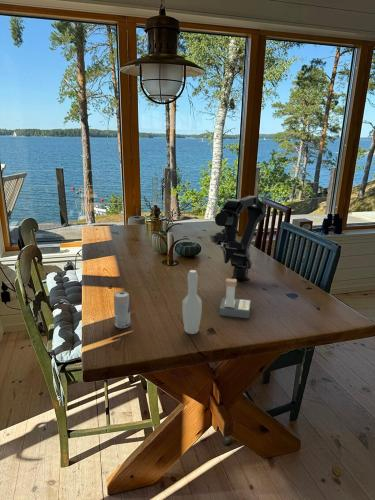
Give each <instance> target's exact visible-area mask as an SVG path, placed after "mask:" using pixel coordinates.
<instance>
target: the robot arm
mask: <svg viewBox="0 0 375 500" xmlns="http://www.w3.org/2000/svg"><path fill="white" fill-rule="evenodd" d="M245 209H246V211H247V213H246V216H247V219H248V221H247V223H246V226H245V228H244V231H243V234H242V236H241V240H240V241H238V240H237V235H238V234H239V232H240V231H238V226H239V220H240V219H241V216H240V214H241V213H242V212H244V210H245ZM266 214H267V208H266V205H265V203H263V202H262V201H261V200H260V198H259V197H258V196H256V195H247V196H245V197H242V198H238V199H235V198H227V199H226V201H225V203H224V204H223V206H222V208H221V209H220V211H219V212H218V213H217V214H216V215H215V216H214V223H215V224H216V225H217V226H219V227H223V228H222V229H221V231H220V232H216V233H213V234H209V238H210V243H213V244H215V245H217V246H218V247H219V248H220V249H221V251H222V255H223V263H224V264H228V263H229V262H230V266H231V267H233V271H232V273H233V274H232V276H231V278H230V279H237V282H245V281H248V280H250V277H248V276H249V275H248V273H249V270H251V269H252V266H253V265H252V264H253V262H252V260H251V258H250V257H251V255H250V250H249V249H250V248H251V247H250V246H251V244H252V241H253V238H254V236H255V232H256V230H257V227H258V224H259V223H260V222H261V221H263V220H264V218H265V215H266Z"/></svg>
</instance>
